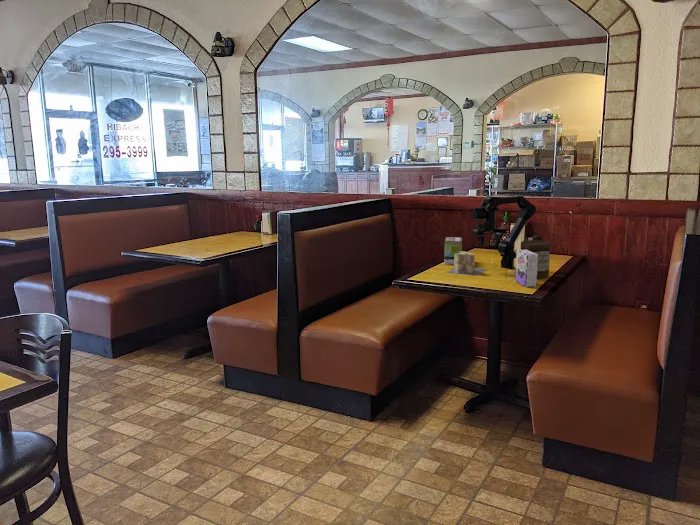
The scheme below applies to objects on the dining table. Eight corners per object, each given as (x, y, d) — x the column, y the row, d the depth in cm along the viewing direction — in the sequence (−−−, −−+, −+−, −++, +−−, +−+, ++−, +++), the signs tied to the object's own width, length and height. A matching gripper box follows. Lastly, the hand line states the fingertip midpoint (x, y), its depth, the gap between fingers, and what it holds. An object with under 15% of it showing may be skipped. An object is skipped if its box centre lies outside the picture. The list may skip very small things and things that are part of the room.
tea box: (461, 265, 325) (461, 240, 322) (444, 265, 327) (444, 240, 324) (461, 260, 339) (462, 236, 336) (444, 260, 341) (445, 236, 338)
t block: (463, 268, 314) (463, 251, 312) (474, 272, 302) (474, 254, 300) (450, 269, 311) (450, 252, 309) (461, 274, 300) (461, 255, 298)
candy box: (514, 281, 284) (516, 249, 281) (525, 280, 284) (527, 249, 281) (525, 287, 270) (526, 254, 267) (537, 287, 271) (538, 254, 268)
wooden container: (528, 280, 286) (530, 237, 281) (513, 274, 300) (515, 233, 296) (554, 278, 289) (556, 236, 285) (538, 272, 303) (540, 232, 299)
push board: (487, 270, 311) (487, 267, 310) (476, 276, 295) (476, 273, 295) (458, 267, 320) (458, 264, 319) (446, 273, 304) (446, 270, 304)
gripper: (496, 216, 317) (495, 243, 320) (467, 218, 311) (467, 246, 314) (507, 218, 306) (506, 246, 309) (478, 220, 301) (477, 249, 304)
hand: (489, 247), depth 309 cm, fingers open, 9 cm apart
